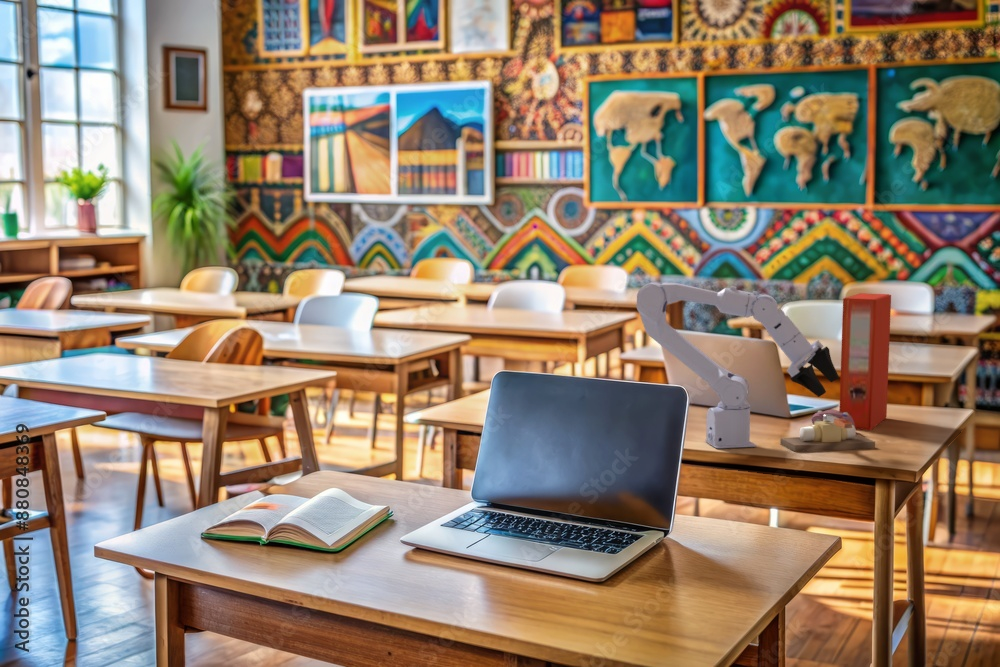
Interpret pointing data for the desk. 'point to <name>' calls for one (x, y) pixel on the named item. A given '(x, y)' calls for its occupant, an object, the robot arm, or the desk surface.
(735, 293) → the robot arm
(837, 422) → the valve lever
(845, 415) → the video game controller
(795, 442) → the board
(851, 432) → the pipe valve
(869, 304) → the file binder
